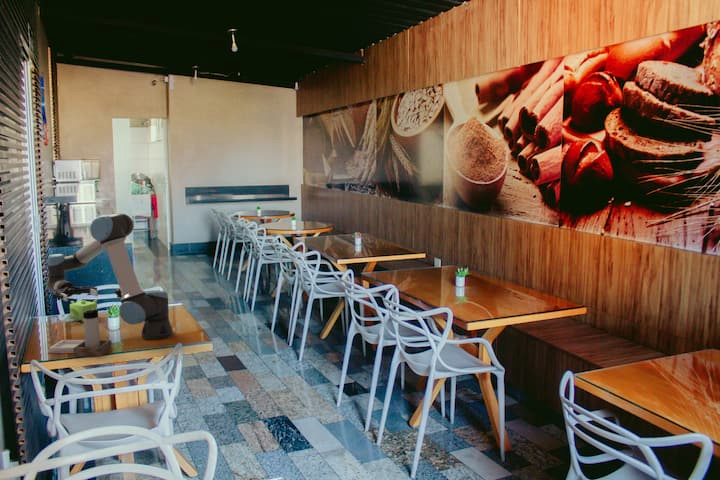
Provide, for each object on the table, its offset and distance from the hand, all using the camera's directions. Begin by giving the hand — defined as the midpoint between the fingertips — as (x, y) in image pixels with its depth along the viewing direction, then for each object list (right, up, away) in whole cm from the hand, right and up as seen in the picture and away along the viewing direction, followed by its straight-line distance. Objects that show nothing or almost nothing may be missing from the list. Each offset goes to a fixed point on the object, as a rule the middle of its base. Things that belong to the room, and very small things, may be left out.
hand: (82, 295), depth 272 cm
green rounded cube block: (-23, -19, +52) cm, 60 cm away
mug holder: (+7, -26, -3) cm, 27 cm away
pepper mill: (+2, -18, +55) cm, 58 cm away
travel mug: (+7, -26, -3) cm, 27 cm away
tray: (-7, -25, +2) cm, 26 cm away
